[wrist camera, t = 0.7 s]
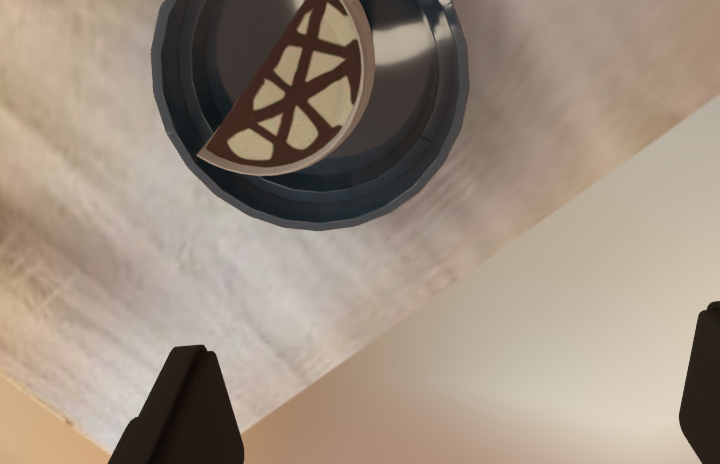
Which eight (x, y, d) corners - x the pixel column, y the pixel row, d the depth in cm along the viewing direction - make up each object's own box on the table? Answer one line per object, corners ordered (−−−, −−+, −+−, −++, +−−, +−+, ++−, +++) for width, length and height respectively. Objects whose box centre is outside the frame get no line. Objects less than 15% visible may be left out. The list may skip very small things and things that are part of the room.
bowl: (160, 140, 40) (125, 174, 35) (223, -139, 32) (191, -156, 27) (391, 222, 43) (394, 266, 37) (501, -16, 35) (527, -8, 29)
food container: (303, 163, 40) (285, 225, 32) (232, 112, 39) (191, 162, 30) (413, 22, 36) (426, 48, 27) (336, -43, 34) (324, -38, 25)
